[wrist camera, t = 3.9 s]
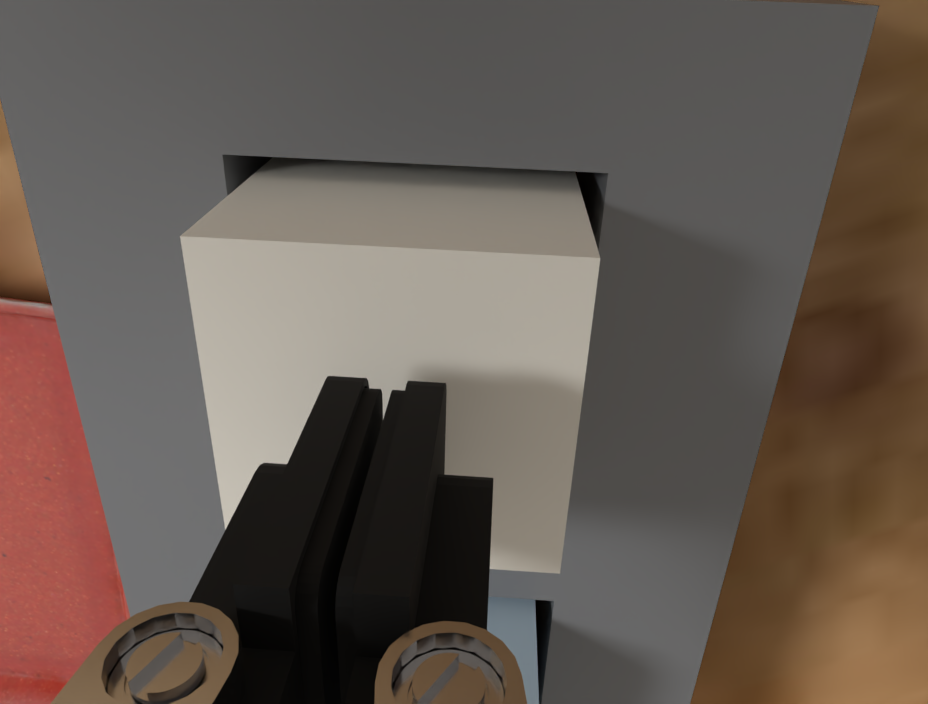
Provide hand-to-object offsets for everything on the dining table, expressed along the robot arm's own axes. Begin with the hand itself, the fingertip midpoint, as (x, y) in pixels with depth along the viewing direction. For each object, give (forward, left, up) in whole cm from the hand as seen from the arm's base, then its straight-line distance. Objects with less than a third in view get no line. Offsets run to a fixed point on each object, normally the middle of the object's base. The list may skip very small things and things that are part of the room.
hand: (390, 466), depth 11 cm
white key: (0, 0, -6) cm, 6 cm away
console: (+5, 0, -9) cm, 10 cm away
